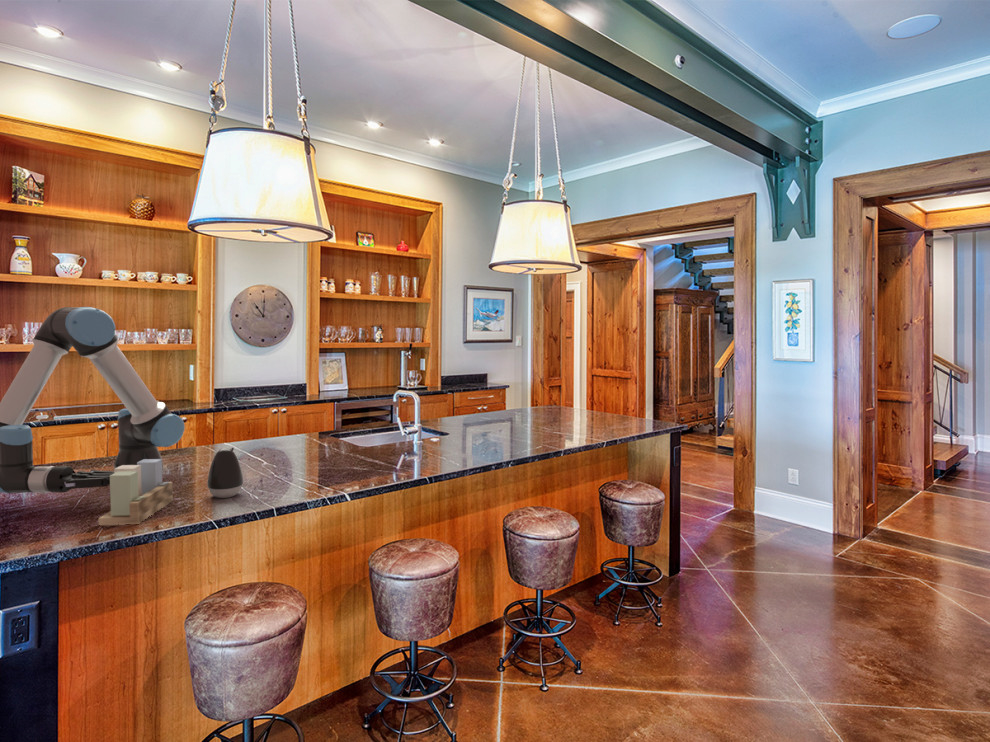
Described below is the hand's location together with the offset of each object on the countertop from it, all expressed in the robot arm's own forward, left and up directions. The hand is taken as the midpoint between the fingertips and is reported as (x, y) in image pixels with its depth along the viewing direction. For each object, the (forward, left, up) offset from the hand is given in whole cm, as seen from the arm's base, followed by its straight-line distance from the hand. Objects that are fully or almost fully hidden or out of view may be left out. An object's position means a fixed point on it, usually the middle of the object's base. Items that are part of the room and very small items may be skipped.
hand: (139, 478), depth 162 cm
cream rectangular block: (+7, 0, -6) cm, 9 cm away
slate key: (0, +3, -6) cm, 6 cm away
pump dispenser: (-8, +21, -8) cm, 24 cm away
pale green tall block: (+14, +3, -6) cm, 15 cm away
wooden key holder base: (+7, +3, -8) cm, 11 cm away
